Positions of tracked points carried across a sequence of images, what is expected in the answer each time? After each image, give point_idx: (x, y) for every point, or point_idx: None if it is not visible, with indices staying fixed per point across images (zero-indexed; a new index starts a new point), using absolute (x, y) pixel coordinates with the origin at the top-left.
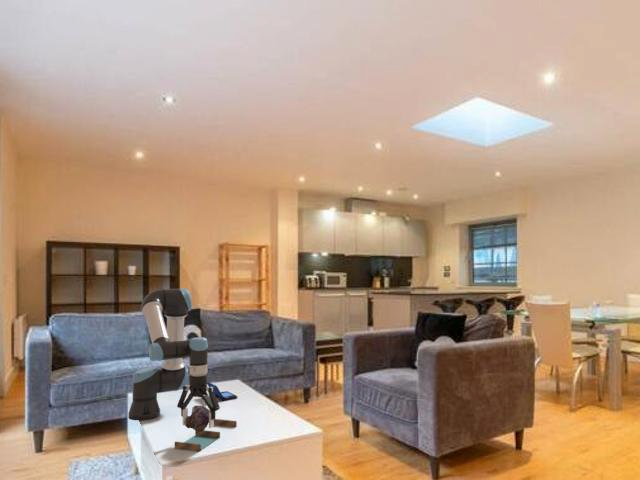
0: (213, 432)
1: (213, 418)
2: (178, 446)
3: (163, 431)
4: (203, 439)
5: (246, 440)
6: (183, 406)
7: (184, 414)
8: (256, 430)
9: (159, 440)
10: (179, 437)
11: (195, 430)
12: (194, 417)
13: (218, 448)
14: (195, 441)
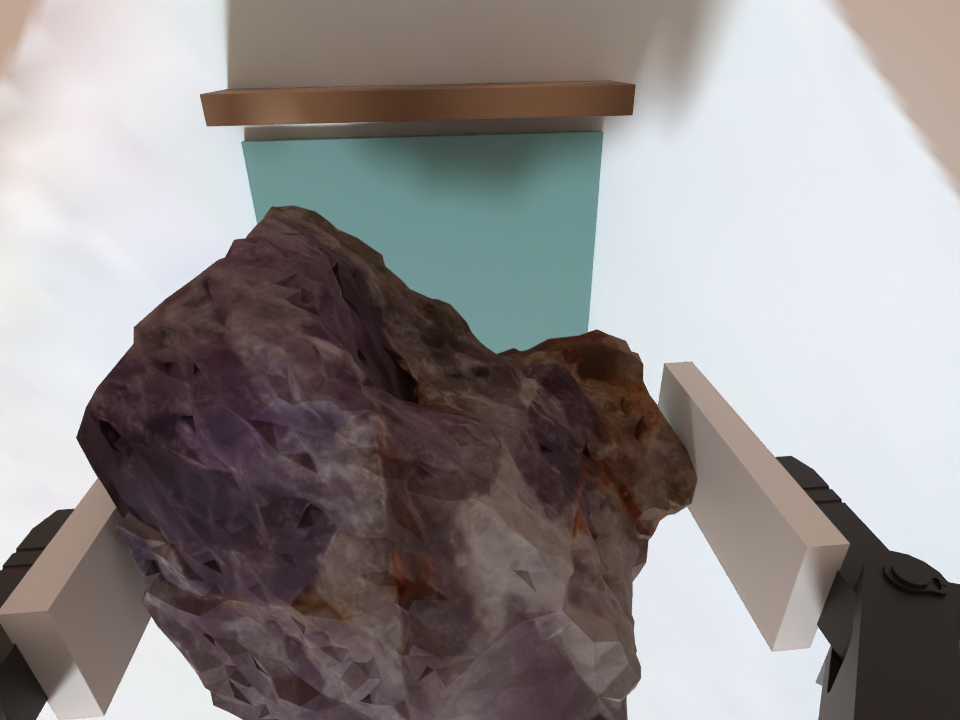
0: None
1: (37, 528)
2: (558, 83)
3: (942, 443)
4: None
5: (7, 520)
6: (890, 621)
7: (747, 481)
8: (124, 695)
9: (900, 242)
10: (717, 376)
11: (315, 215)
12: (421, 411)
13: (95, 259)
14: (477, 328)
